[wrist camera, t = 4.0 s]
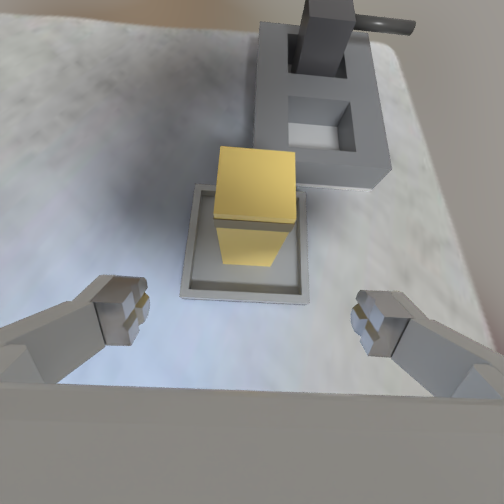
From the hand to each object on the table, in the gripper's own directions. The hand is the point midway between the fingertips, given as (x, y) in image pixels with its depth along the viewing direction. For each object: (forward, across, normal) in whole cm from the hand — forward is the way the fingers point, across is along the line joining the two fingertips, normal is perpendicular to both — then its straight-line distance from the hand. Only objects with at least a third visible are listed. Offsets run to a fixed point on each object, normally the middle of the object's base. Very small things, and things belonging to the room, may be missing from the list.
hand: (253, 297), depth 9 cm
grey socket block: (+23, -6, -8) cm, 25 cm away
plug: (+11, 0, +3) cm, 12 cm away
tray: (+12, 0, +3) cm, 12 cm away
